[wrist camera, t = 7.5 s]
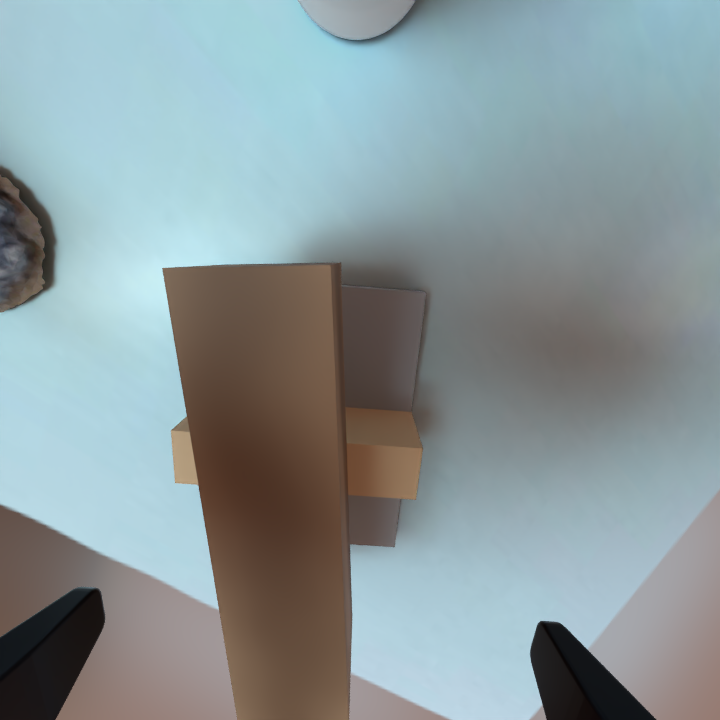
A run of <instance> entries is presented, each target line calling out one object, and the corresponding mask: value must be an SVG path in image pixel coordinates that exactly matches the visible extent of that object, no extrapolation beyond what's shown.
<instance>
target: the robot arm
mask: <svg viewBox="0 0 720 720" xmlns="http://www.w3.org/2000/svg"><path fill="white" fill-rule="evenodd" d="M104 623H105V612H104V607H103V601H102V595H101V591H100V590H99V589H98V588H92V587H78V588H75V589H73V590H71V591H70V592H68V593H67V594H65V595H64V596H62V597H61V598H60V599H58V600H56V601H55V602H53V603H52V604H50V605H49V606H47V607H45V608H44V609H42V610H41V611H39V612H38V613H36V614H35V615H34V616H32V617H30V618H29V619H27V620H26V621H24V622H23V623H21V624H20V625H18V626H17V627H15V628H13V629H12V630H10V631H9V632H7V633H6V634H4V635H3V636H1V637H0V720H55V719H56V718H57V716H58V714H59V712H60V710H61V708H62V707H63V705H64V703H65V701H66V699H67V697H68V695H69V693H70V691H71V689H72V687H73V685H74V683H75V682H76V679H77V678H78V676H79V674H80V672H81V670H82V668H83V666H84V664H85V662H86V660H87V658H88V657H89V655H90V653H91V651H92V649H93V647H94V645H95V643H96V641H97V639H98V637H99V635H100V634H101V632H102V629H103V626H104ZM530 657H531V663H532V667H533V671H534V674H535V678H536V682H537V686H538V689H539V693H540V697H541V700H542V704H543V708H544V711H545V715H546V719H547V720H656V719H655V718H654V717H653V716H652V715H651V714H650V713H649V712H648V711H647V710H646V709H645V708H644V707H643V706H642V705H641V704H640V702H638V701H637V699H636V698H635V697H634V696H633V695H632V694H631V693H630V692H629V691H627V689H626V688H625V687H624V686H623V685H622V684H621V683H620V682H619V681H618V680H617V679H616V678H615V677H614V676H613V675H612V674H611V673H610V672H609V671H608V670H607V669H606V668H605V667H604V666H603V665H602V664H601V663H600V662H599V661H598V660H597V659H596V658H595V657H594V656H593V655H592V654H591V653H590V652H589V651H588V650H587V649H586V648H585V647H584V646H583V645H582V644H581V643H580V642H579V641H578V640H577V639H576V638H575V637H574V636H573V635H572V634H571V632H570V631H569V630H568V629H567V628H566V627H564V626H563V625H562V624H560V623H558V622H551V621H540V622H539V623H538V625H537V628H536V631H535V635H534V638H533V642H532V645H531V650H530Z"/></svg>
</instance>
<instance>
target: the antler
mask: <svg viewBox="0 0 720 720" xmlns="http://www.w3.org/2000/svg"><path fill="white" fill-rule="evenodd" d="M41 228H42V227H41V226H40V224H39V223H38V218H37V217H36V216H35V215H34V214H33V213H32V212H31V211H30V209H29V208H28V207H27V206H26V205H25V204H24V203H23V202H22V201H21V200H20V198H19V189H18V188H16V187H15V186H14V185H13V184H12V183H11V182H10V181H9V179H8V178H5V177H2V176H1V174H0V312H4V311H6V310H7V309H9V308H13V307H15V306H16V305H21V304H22V303H23V302H24V301H26V300H27V299H28V298H29V297H30V296H31V295H34V294H37V293H38V292H39V291H40V290H42V289H43V286H42V284H45V281H44V279H43V278H42V275H43V269H42V261H43V259H44V258H45V254H44V251H43V248H44V246H45V241H44V239H43V236H42V234H41V231H40V229H41Z"/></svg>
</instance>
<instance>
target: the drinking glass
mask: <svg viewBox="0 0 720 720" xmlns="http://www.w3.org/2000/svg"><path fill="white" fill-rule="evenodd" d="M415 1H416V0H298V2H299V4H300V5H301V7H302V8H303V10H304V11H305V12H306V13H307V15H308V16H309V17H310V18H311V19H312V20H313V21H314V22H315V23H316V24H317V25H318V26H319V27H321V28H322V29H324V30H325V31H327V32H329V33H330V34H332V35H335V36H337V37H340V38H344V39H349V40H365V39H370V38H373V37H376V36H379V35H381V34H383V33H385V32H386V31H388V30H390V29H391V28H392V27H394V26H395V25H396V24H397V23H398V22H400V21H401V20H402V18H403V17H404V16H405V15H406V14H407V13H408V11H409V10H410V8H411V7H412V6H413V4H414V2H415Z"/></svg>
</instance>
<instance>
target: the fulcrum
mask: <svg viewBox="0 0 720 720" xmlns="http://www.w3.org/2000/svg"><path fill="white" fill-rule="evenodd" d="M425 299H426V293H425V292H423V291H416V290H403V289H390V288H376V287H363V286H350V285H342V315H343V346H344V378H345V409H346V440H347V471H348V503H349V534H350V544H356V545H370V546H385V547H395V540H396V532H397V524H398V516H399V508H400V500H401V499H413V500H416V495H417V487H418V480H419V473H420V466H421V459H422V451H423V447H422V444H421V441H420V438H419V434H418V431H417V428H416V425H415V422H414V418H413V415H412V412H411V411H412V403H413V395H414V387H415V379H416V371H417V363H418V355H419V347H420V339H421V331H422V323H423V315H424V307H425ZM171 437H172V449H173V462H174V474H175V483H182V484H197V485H198V479H197V473H196V467H195V461H194V455H193V449H192V443H191V437H190V431H189V425H188V419H187V417H186V418H184V419H183V420H182V421H181V422H180V423H179V424H178V425H177V426H176V427H174V428H173V429H172V430H171Z"/></svg>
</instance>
